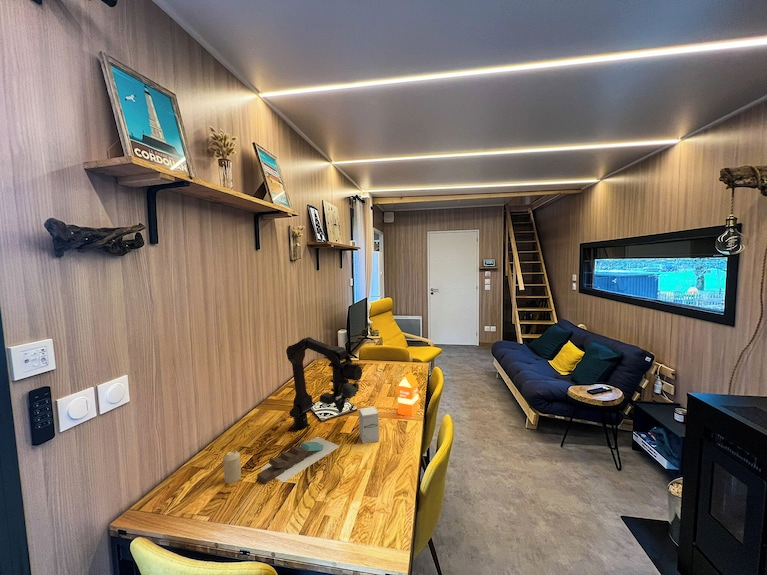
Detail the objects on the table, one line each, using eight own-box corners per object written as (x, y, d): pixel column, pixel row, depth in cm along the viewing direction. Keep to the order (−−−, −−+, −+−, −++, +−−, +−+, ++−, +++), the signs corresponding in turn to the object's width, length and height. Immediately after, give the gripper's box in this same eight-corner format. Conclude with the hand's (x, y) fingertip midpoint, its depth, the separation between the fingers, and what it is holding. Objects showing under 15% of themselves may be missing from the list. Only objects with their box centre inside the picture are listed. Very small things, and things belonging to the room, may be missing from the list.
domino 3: (303, 460, 126) (287, 461, 120) (295, 456, 129) (279, 457, 123) (304, 455, 126) (288, 456, 120) (297, 451, 129) (281, 452, 123)
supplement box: (362, 444, 137) (361, 415, 136) (359, 436, 144) (358, 408, 143) (379, 441, 139) (378, 412, 138) (375, 433, 146) (374, 405, 145)
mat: (260, 469, 122) (260, 468, 122) (317, 437, 144) (317, 436, 144) (283, 483, 113) (283, 482, 113) (339, 446, 135) (339, 446, 135)
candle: (236, 472, 120) (235, 446, 119) (244, 478, 117) (242, 451, 116) (221, 480, 116) (220, 453, 115) (228, 486, 112) (227, 458, 112)
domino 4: (312, 455, 129) (297, 455, 123) (304, 451, 132) (289, 451, 126) (313, 450, 130) (298, 450, 124) (305, 446, 133) (290, 446, 127)
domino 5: (322, 450, 133) (308, 450, 127) (314, 446, 136) (300, 447, 130) (323, 445, 133) (309, 446, 127) (315, 441, 136) (301, 442, 130)
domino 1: (293, 466, 122) (276, 467, 116) (285, 462, 125) (268, 463, 119) (294, 461, 123) (277, 462, 117) (286, 457, 125) (269, 457, 119)
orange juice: (398, 413, 165) (397, 375, 164) (405, 407, 173) (404, 370, 171) (412, 416, 161) (411, 377, 160) (418, 409, 169) (418, 372, 168)
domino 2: (284, 472, 119) (265, 483, 113) (276, 467, 122) (257, 478, 116) (284, 467, 119) (264, 478, 113) (276, 462, 122) (257, 474, 115)
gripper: (337, 387, 128) (338, 425, 129) (367, 374, 143) (368, 408, 144) (318, 382, 135) (319, 418, 135) (348, 370, 149) (349, 403, 150)
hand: (340, 412), depth 141 cm, fingers closed
